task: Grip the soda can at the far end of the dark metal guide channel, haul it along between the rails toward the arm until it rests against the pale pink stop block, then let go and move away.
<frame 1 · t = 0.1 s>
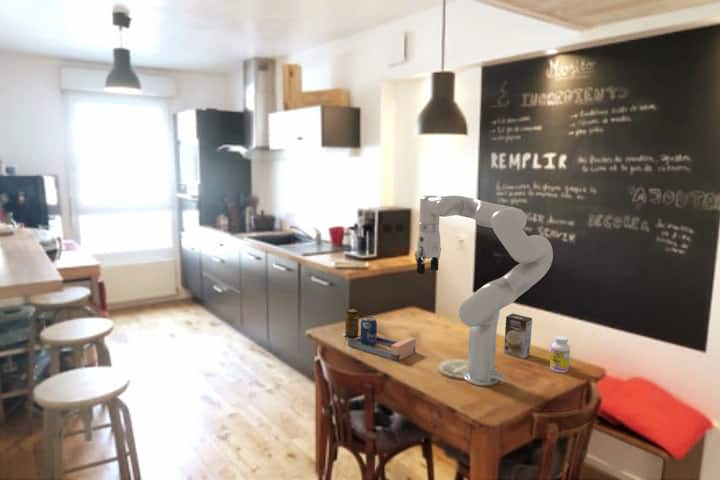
hand: (427, 271, 194), 37 cm above the table, tool pointing down, fingers open, 9 cm apart
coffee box: (516, 354, 209), on the table
stop block: (403, 355, 206), on the table
soda can: (368, 345, 217), on the table
supplement bottle: (558, 370, 193), on the table
guide channel: (381, 349, 213), on the table
condiment: (351, 336, 229), on the table
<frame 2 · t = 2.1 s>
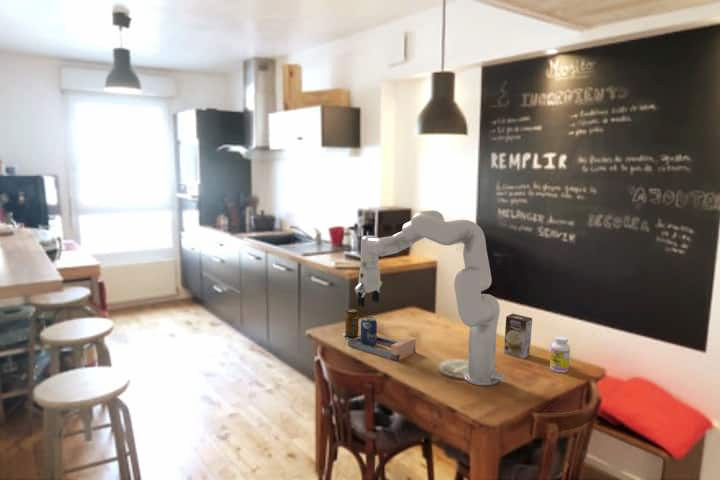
hand: (368, 303, 215), 19 cm above the table, tool pointing down, fingers open, 9 cm apart
nothing on the table moved.
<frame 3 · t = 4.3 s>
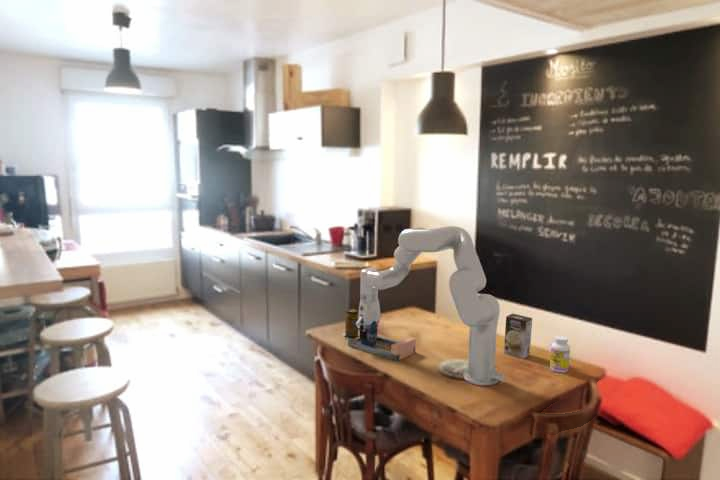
hand: (368, 336, 217), 4 cm above the table, tool pointing down, fingers closed on soda can, 7 cm apart
soda can: (368, 345, 217), on the table, touching gripper
everything else where it was.
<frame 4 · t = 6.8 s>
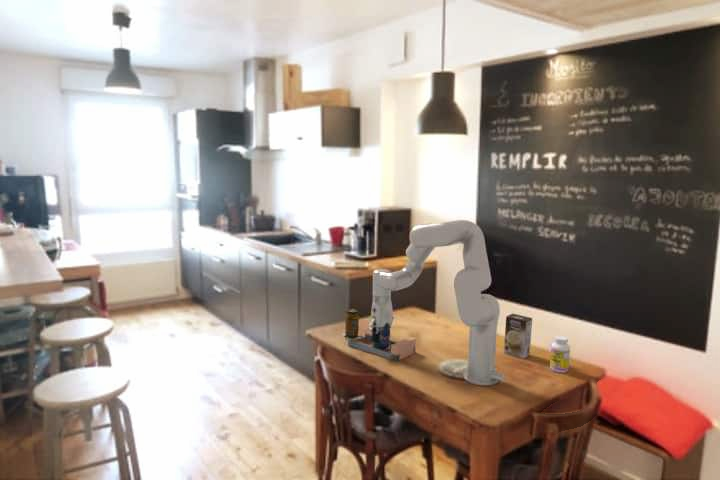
hand: (381, 339, 212), 4 cm above the table, tool pointing down, fingers closed on soda can, 7 cm apart
soda can: (381, 348, 213), on the table, touching gripper
everything else where it was.
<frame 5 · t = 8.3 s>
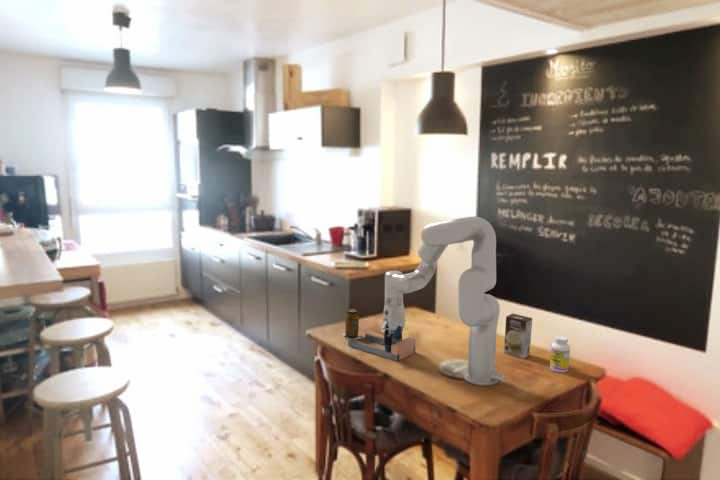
hand: (393, 342, 208), 5 cm above the table, tool pointing down, fingers closed on soda can, 7 cm apart
soda can: (393, 351, 209), point 1 cm above the table, touching gripper
everything else where it was.
when the fingers open (4 cm above the table, at t = 9.2 s): soda can stays where it is, on the table.
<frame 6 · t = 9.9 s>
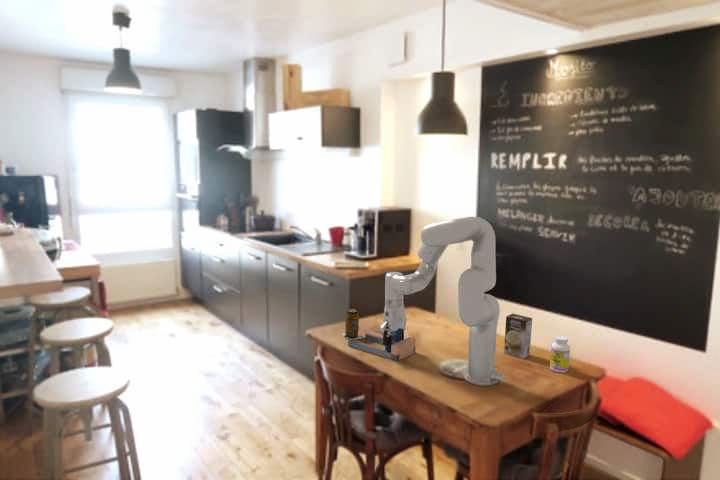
hand: (393, 342, 208), 5 cm above the table, tool pointing down, fingers open, 9 cm apart
soda can: (393, 353, 209), on the table
everything else where it was.
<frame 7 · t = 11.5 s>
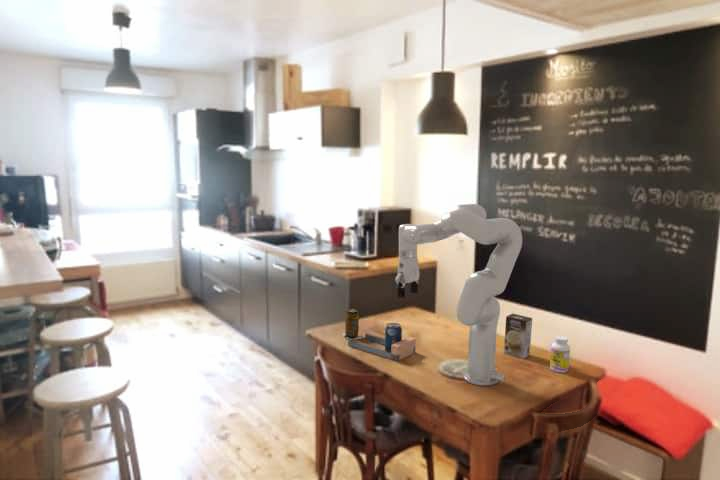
hand: (407, 295, 207), 24 cm above the table, tool pointing down, fingers open, 9 cm apart
nothing on the table moved.
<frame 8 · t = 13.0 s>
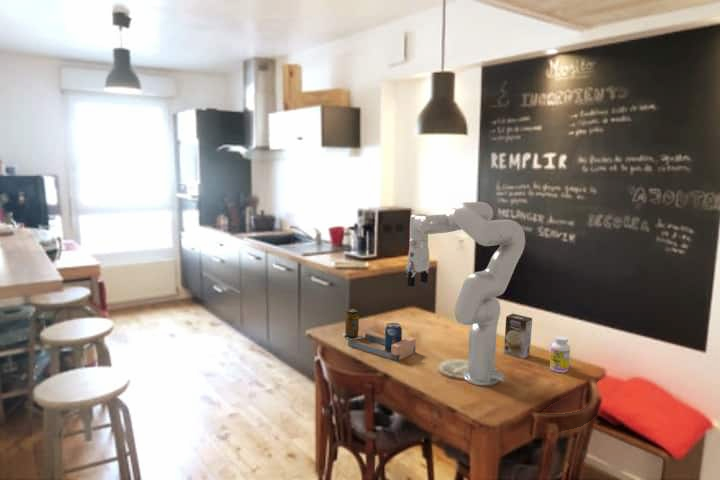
hand: (417, 284, 209), 28 cm above the table, tool pointing down, fingers open, 9 cm apart
nothing on the table moved.
at the end: soda can 0.3 cm from the target spot, on the table; soda can tilted 0°; the gripper is holding nothing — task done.
